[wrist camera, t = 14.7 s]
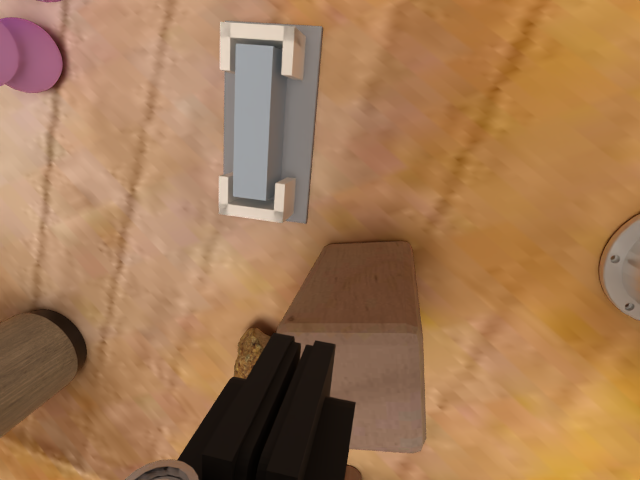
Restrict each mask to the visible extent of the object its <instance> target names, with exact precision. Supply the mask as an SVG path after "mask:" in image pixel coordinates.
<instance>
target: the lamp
mask: <svg viewBox="0 0 640 480" xmlns="http://www.w3.org/2000/svg"><path fill="white" fill-rule="evenodd" d="M85 360H86V346H85V342H84V339H83V337H82V335H81V334H80V332H79V330H78V329H77V328H76V327H75V325H74V324H73V323H72V322H71V321H69V320H68V319H67V318H66V317H64V316H62V315H61V314H59V313H57V312H54V311H51V310H45V309H40V310H35V311H32V312H30V313H22V314H18V315H15V316H13V317H11V318H9V319H7V320H5V321H3V322H1V323H0V438H1V437H2V436H3V435H5V434H6V433H7V432H8V431H10V430H11V429H12V428H13V427H15V426H16V425H17V424H18V423H20V422H21V421H22V420H23V419H25V418H26V417H27V416H28V415H30V414H31V413H32V412H34V411H35V410H36V409H37V408H39V407H40V406H41V405H42V404H44V403H45V402H46V401H47V400H49V399H50V398H51V397H52V396H54V395H55V394H56V393H57V392H59V391H60V390H61V389H62V388H64V387H65V386H66V385H67V384H69V383H70V382H71V381H72V380H73V378H74V377H75V375H76V372H78V371H79V370H80V369H81V368H82V366H83V365H84V363H85Z"/></svg>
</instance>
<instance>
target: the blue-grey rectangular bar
mask: <svg viewBox="0 0 640 480" xmlns="http://www.w3.org/2000/svg"><path fill="white" fill-rule="evenodd" d="M281 69H282V51H280V50H279V49H277V48H275V47H274V46H264V45H249V44H236V56H235V108H234V161H233V196H234V197H241V198H249V199H256V200H264V201H266V200H268V199H270V198H271V197H273V196H275V183H277V182H279V181H281V170H282V153H283V136H284V119H285V102H286V85H287V77H286V76H283V75H281Z"/></svg>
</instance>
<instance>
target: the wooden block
mask: <svg viewBox="0 0 640 480" xmlns="http://www.w3.org/2000/svg"><path fill="white" fill-rule="evenodd" d="M276 333H280V334H285V335H290V336H294V338H295V342H297V343H301V353H300V358H301V356H302V353H303V351H304V348H305V346H306V345H307V344H308V345H313V344H314V342H315V340H317V341H322V342H327V343H333V344H336V348H335V357H334V365H333V373H332V382H331V390H330V397H334V398H338V399H343V400H348V401H353V402H356V405H355V411H354V418H353V425H352V432H351V439H350V446H349V449H358V450H372V451H386V452H399V453H416V452H419V451H421V449H422V446H423V444H424V442H425V440H426V414H425V383H424V353H423V333H422V325H421V317H420V308H419V300H418V292H417V283H416V275H415V267H414V259H413V250H412V248H411V246H410V244H409V243H407V242H404V241H392V242H369V243H346V244H330V245H327V246H325V247H324V248H323V250H322V252H321V254H320V255H319V257H318V259H317V261H316V262H315V264H314V266H313V267H312V269H311V271H310V273H309V274H308V276H307V278H306V279H305V281H304V283H303V285H302V286H301V288H300V290H299V291H298V293H297V295H296V297H295V298H294V300H293V302H292V304H291V305H290V307H289V309H288V310H287V312H286V314H285V316H284V317H283V319H282V321H281V322H280V324H279V326H278V328H277V332H276Z"/></svg>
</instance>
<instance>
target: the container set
mask: <svg viewBox="0 0 640 480" xmlns="http://www.w3.org/2000/svg"><path fill="white" fill-rule="evenodd" d="M38 1H43V2H58V1H61V0H38ZM62 68H63V61H62V56H61V53H60V51H59V49H58V47H57V45H56V43H55V42H54V41H53V39H52V38H51V37H50V35H49V34H48V33H47V32H46V31H45V30H44V29H42V28H41V27H40V26H38V25H36V24H35V23H33V22H31V21H28V20H25V19H21V18H13V17H10V18H2V19H0V86H2V85H4V84H6V85H7V86H9V87H11V88H13V89H16V90H19V91H23V92H27V93H38V92H42V91H46V90H48V89H49V88H51V87H52V86H53V85H54V84H55V83H56V82H57V80H58V79H59V77H60V75H61V72H62Z"/></svg>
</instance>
